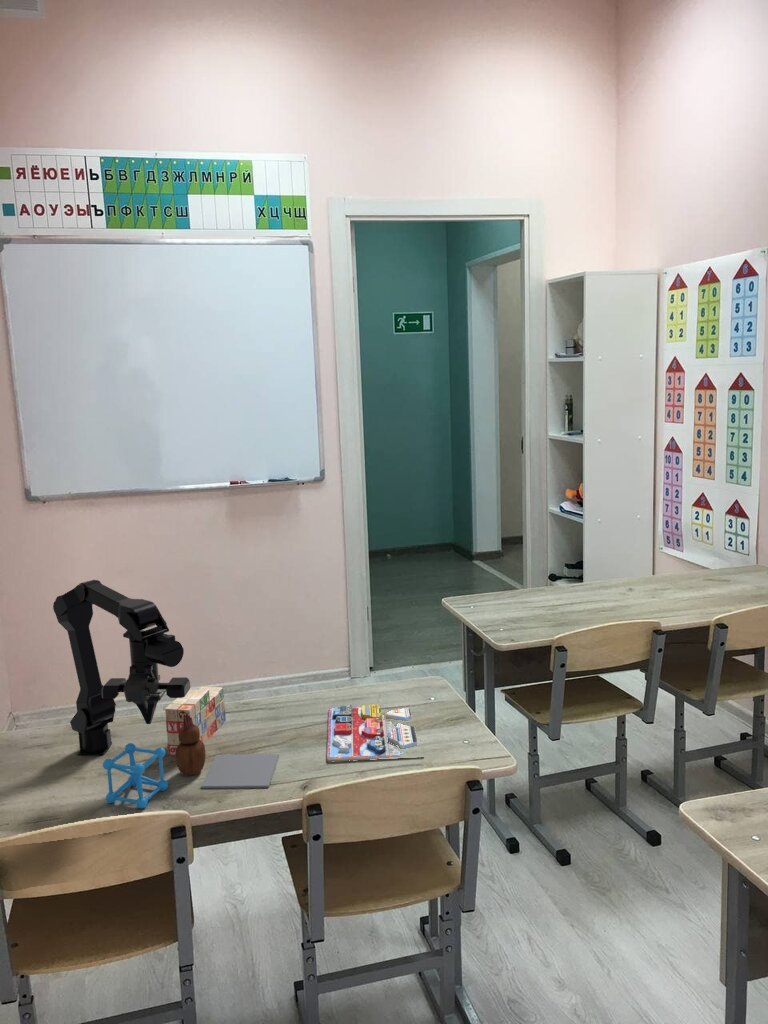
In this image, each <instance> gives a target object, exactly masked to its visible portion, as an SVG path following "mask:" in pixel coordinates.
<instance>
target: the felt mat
mask: <svg viewBox="0 0 768 1024" xmlns="http://www.w3.org/2000/svg"><path fill="white" fill-rule="evenodd" d="M279 757H280V754H279V753H268V754H267V753H263V754H262V753H260V754H259V753H257V754H256V753H255V754H254V753H251V754H249V753H248V754H245V753H244V754H216V755H215V757H214V759H213V762H212V763H211V765H210V767H209V770H208V771H207V773H206V775H205V778H204V780H203V782H202V783H201V785H200V788H201V789H251V788H252V789H253V788H254V789H255V788H258V789H261V788H262V789H264V788H267V789H269V788H270V784H271V782H272V778H273V775H274V772H275V770H276V767H277V764H278V761H279Z"/></svg>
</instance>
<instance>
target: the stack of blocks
mask: <svg viewBox="0 0 768 1024" xmlns="http://www.w3.org/2000/svg"><path fill="white" fill-rule="evenodd" d="M224 697H225V694H224V687H222V686H221V687H220V686H219V687H218V686H200V687H199V688H198V689H196V688H195V689H192V688H190V690H189V691H188V693H187V694H186V696H185V697H183V698H174V700H173V701H172V702H171V703H170V704H169V705H168V706H166V707H165V720H166V721H165V726H166V734H167V735H166V736H167V748H168V749H167V750H168V756H169V757H175V754H176V749H177V747H178V745H179V744H180V743H181V742H180V741H179V737H178V734H179V730H180V728H181V727H182V726H184V714H185V716H186V713H188V716H190V717H192V721H193V724H194V725H197V726H198V727H199V730H200V737H199V739H200V740H201V741H202V742H203V743H204V745H206V743H207V742H208V741H209V739H210V738H211V737H212V736H213V735H214V734H215V733H216V731H218V729H219V728H220V727H221V726H222V725H223V724H224V723H225V721H226V720H227V719H226V707H225V704H226V703H225V702H226V701H225V698H224Z"/></svg>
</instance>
